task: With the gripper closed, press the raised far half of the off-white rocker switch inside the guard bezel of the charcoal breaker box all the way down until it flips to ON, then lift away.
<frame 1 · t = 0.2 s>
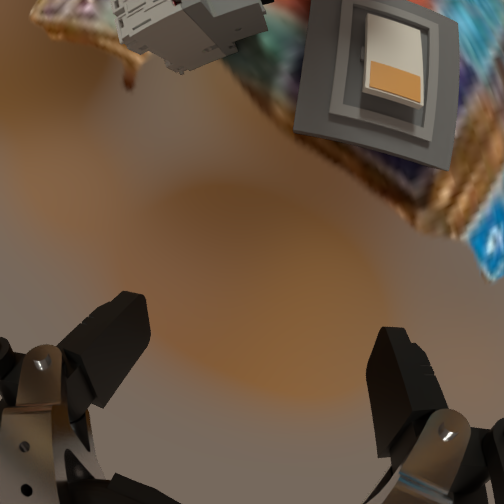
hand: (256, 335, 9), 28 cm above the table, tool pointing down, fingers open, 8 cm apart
breaker box: (375, 75, 28), on the table
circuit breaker: (223, 33, 29), on the table
breaker rocker: (394, 57, 21), point 8 cm above the table, hinge at -12.0°
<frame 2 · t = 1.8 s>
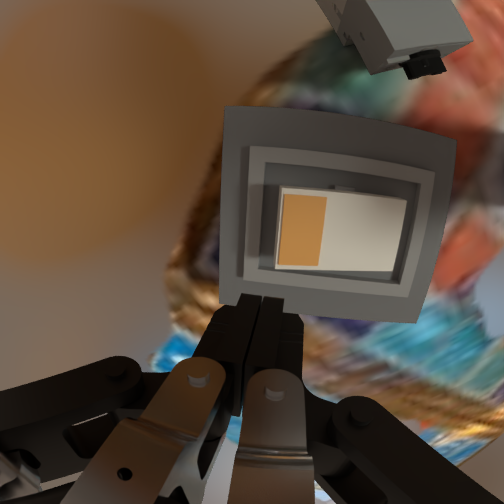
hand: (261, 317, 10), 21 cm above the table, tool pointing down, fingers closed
breaker box: (332, 208, 28), on the table
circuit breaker: (370, 32, 21), on the table
breaker rocker: (342, 231, 21), point 8 cm above the table, hinge at -12.0°
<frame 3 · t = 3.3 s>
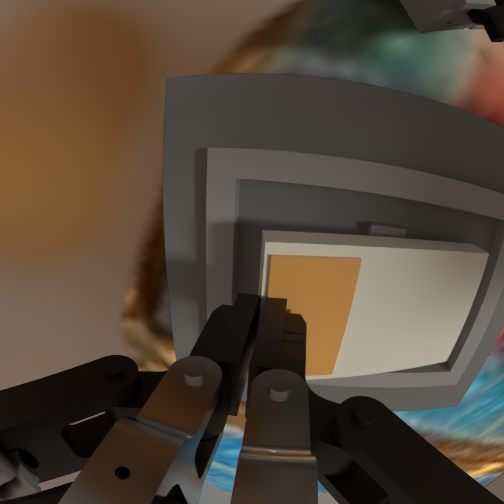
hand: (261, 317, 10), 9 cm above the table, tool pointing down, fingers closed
breaker box: (353, 246, 18), on the table
breaker rocker: (381, 313, 11), point 8 cm above the table, hinge at -11.9°, touching gripper
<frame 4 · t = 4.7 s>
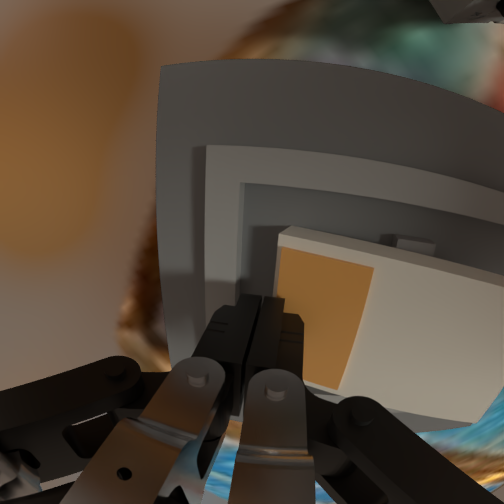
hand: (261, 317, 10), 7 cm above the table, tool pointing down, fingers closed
breaker box: (368, 257, 16), on the table
breaker rocker: (404, 340, 9), point 8 cm above the table, hinge at 16.6°, touching breaker box, gripper
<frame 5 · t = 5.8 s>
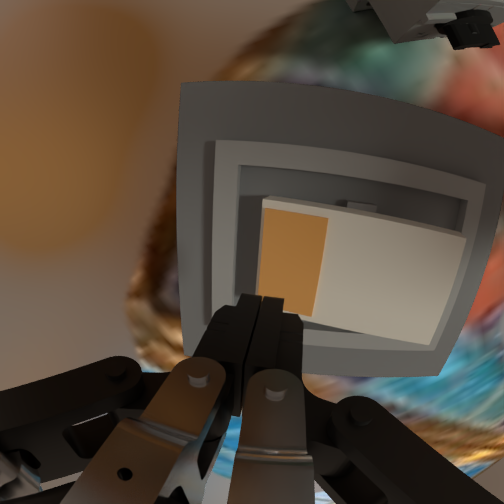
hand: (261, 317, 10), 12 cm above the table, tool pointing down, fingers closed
breaker box: (337, 227, 21), on the table
breaker rocker: (356, 273, 14), point 8 cm above the table, hinge at 13.0°
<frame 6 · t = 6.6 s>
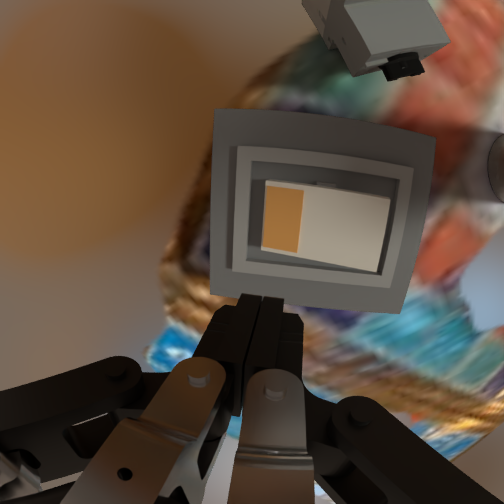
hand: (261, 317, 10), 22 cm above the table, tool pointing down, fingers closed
breaker box: (317, 204, 30), on the table
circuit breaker: (355, 35, 23), on the table
breaker rocker: (323, 224, 23), point 8 cm above the table, hinge at 12.3°
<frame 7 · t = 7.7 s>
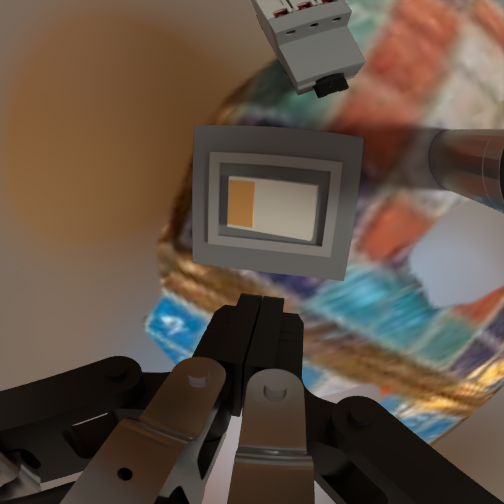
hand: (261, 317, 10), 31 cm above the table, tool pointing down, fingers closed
breaker box: (276, 194, 39), on the table
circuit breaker: (307, 58, 32), on the table
breaker rocker: (270, 206, 32), point 8 cm above the table, hinge at 12.1°
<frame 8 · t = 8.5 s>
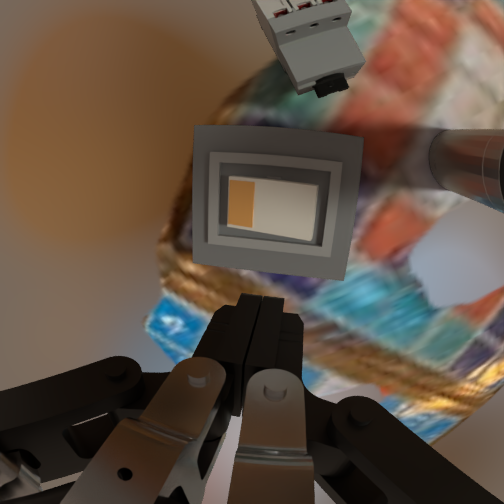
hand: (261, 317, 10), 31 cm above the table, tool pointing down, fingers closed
breaker box: (276, 194, 39), on the table
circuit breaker: (307, 58, 32), on the table
breaker rocker: (270, 206, 32), point 8 cm above the table, hinge at 12.1°
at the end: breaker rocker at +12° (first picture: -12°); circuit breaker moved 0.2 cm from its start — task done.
